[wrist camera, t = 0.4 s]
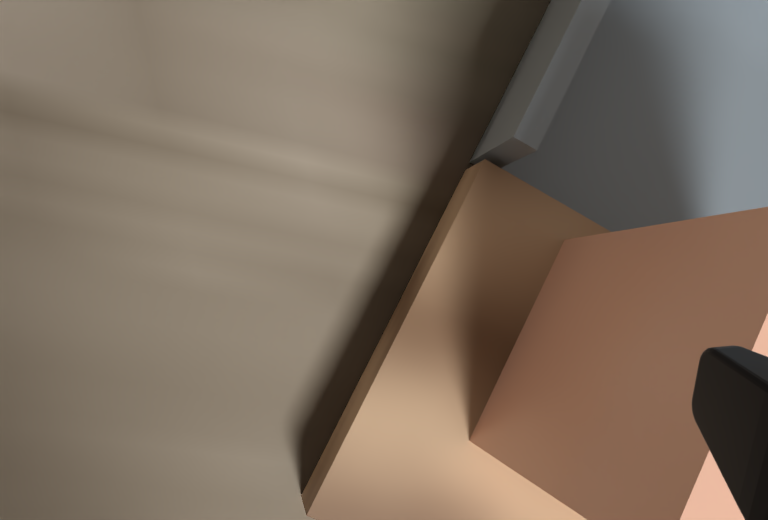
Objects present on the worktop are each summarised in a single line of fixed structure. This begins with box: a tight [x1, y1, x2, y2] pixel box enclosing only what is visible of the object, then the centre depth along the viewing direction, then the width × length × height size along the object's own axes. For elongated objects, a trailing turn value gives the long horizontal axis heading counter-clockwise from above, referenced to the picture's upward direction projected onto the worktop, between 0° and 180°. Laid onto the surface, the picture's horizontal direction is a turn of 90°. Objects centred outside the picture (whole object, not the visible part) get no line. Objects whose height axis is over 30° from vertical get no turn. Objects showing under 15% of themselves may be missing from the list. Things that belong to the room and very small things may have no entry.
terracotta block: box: [469, 207, 768, 520], centre depth 17 cm, size 7×7×10 cm
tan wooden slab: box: [301, 159, 611, 520], centre depth 23 cm, size 12×14×2 cm
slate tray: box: [470, 0, 768, 232], centre depth 24 cm, size 12×14×4 cm
